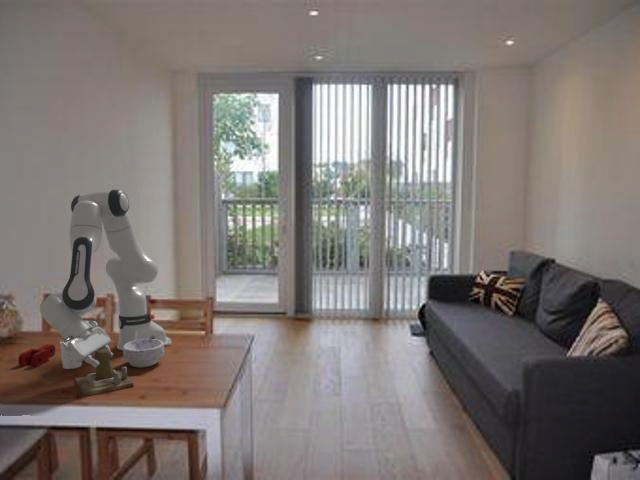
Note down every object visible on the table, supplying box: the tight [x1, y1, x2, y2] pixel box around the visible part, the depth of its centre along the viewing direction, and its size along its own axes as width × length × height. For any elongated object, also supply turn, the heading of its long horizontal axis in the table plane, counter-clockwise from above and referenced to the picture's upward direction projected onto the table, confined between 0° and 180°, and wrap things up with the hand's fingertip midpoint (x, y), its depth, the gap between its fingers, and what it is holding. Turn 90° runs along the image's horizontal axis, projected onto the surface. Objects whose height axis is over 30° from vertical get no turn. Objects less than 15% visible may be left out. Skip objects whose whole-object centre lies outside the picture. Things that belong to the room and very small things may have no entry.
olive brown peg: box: [94, 349, 113, 381], centre depth 195 cm, size 6×6×11 cm
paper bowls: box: [122, 339, 165, 368], centre depth 217 cm, size 15×15×8 cm
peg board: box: [75, 366, 135, 397], centre depth 196 cm, size 16×16×5 cm
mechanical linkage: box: [17, 344, 56, 368], centre depth 220 cm, size 16×7×5 cm, turn 172°
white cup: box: [59, 339, 83, 370], centre depth 214 cm, size 8×8×10 cm
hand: (104, 361), depth 195 cm, fingers open, 8 cm apart
